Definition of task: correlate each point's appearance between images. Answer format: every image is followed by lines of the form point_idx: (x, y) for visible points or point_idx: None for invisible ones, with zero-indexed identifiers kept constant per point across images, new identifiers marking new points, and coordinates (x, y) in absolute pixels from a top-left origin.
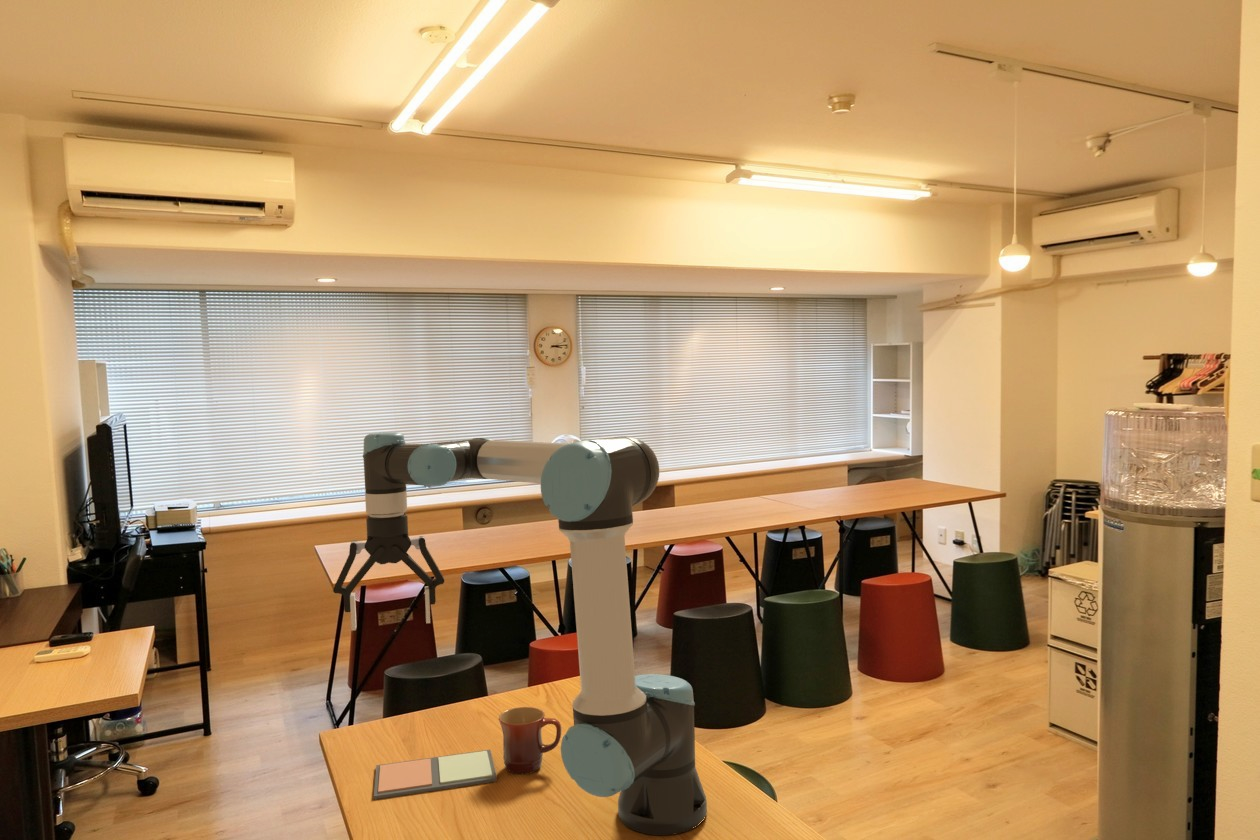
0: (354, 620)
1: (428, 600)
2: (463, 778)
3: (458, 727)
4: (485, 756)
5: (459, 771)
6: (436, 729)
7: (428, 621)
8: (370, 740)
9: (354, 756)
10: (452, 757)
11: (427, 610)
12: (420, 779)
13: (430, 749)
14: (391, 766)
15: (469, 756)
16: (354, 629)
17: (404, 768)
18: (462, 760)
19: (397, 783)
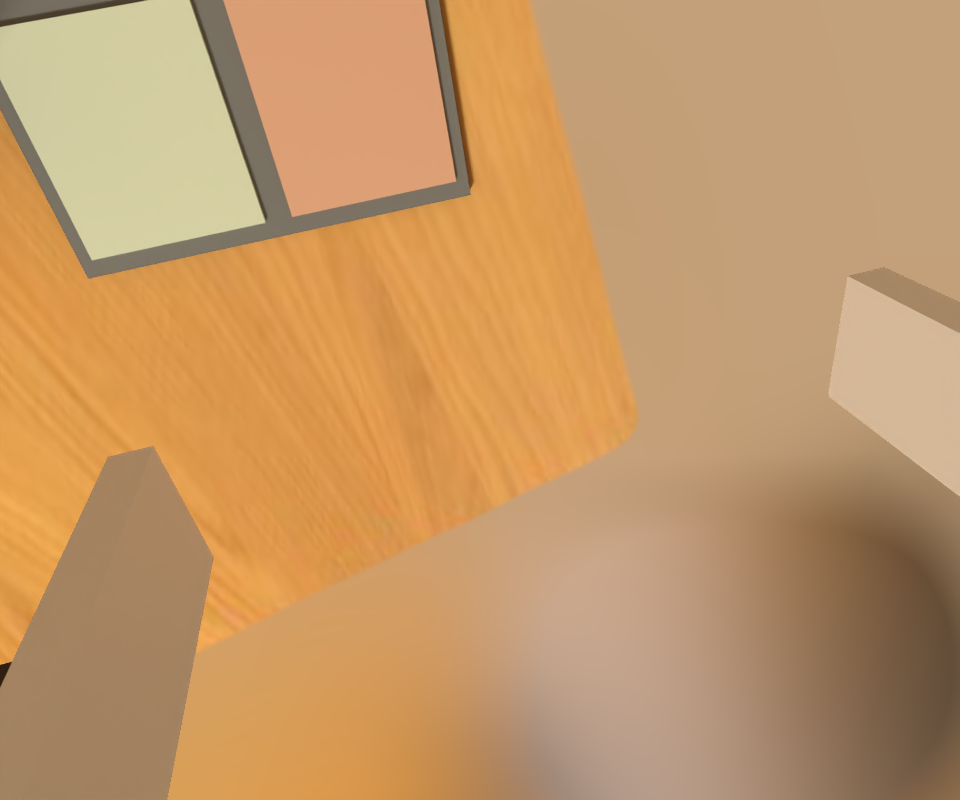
0: (932, 315)
1: (17, 681)
2: (97, 16)
3: (274, 457)
4: (78, 211)
5: (139, 87)
6: (342, 446)
7: (122, 462)
8: (524, 384)
9: (551, 284)
10: (210, 216)
11: (90, 553)
12: (278, 36)
13: (323, 314)
14: (415, 167)
15: (145, 218)
16: (864, 276)
17: (365, 145)
18: (161, 186)
19: (359, 14)
